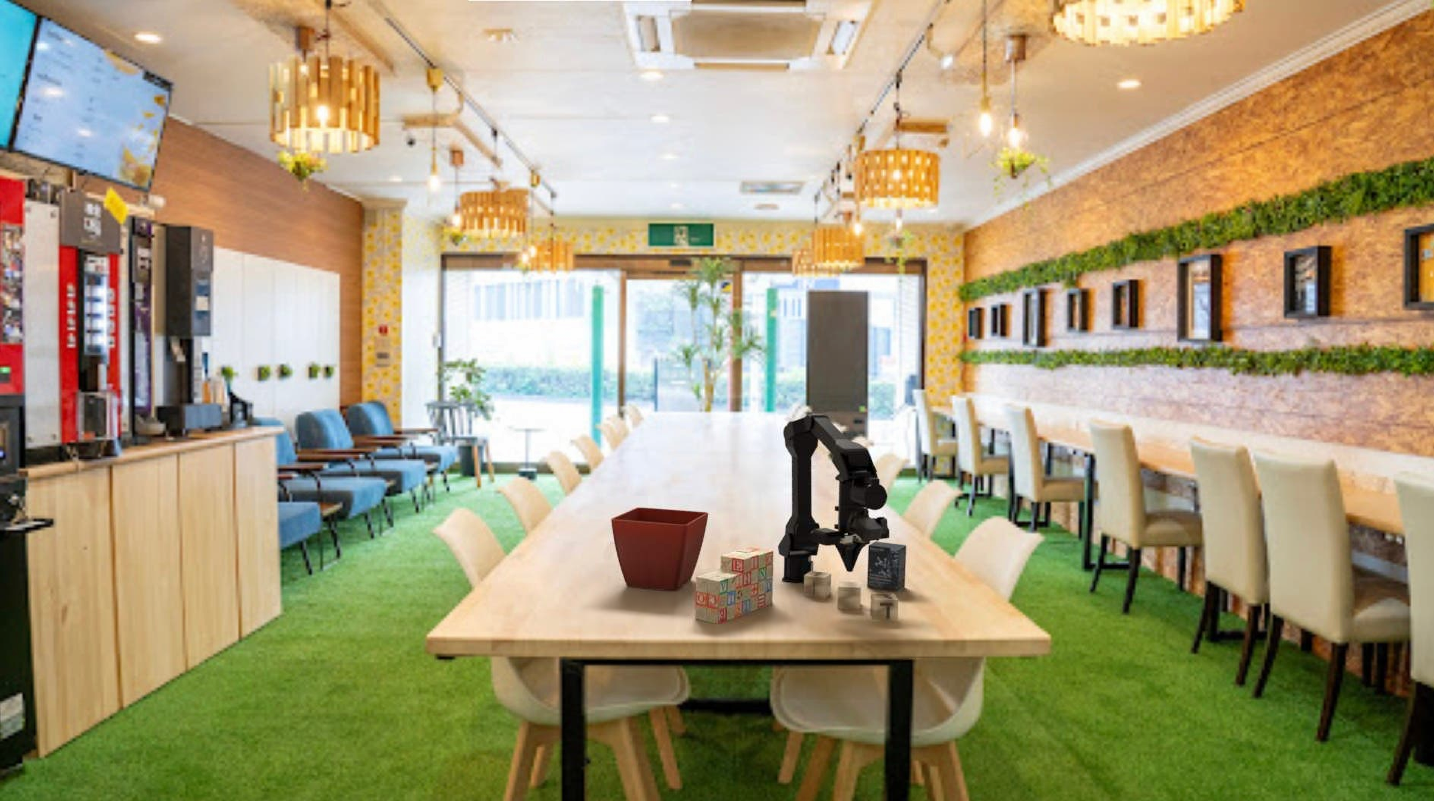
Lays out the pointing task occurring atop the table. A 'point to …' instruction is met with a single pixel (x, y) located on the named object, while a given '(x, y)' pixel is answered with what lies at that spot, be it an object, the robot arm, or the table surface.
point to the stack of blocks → (735, 586)
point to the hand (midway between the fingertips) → (849, 571)
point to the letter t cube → (884, 607)
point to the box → (886, 566)
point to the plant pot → (658, 546)
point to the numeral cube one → (817, 584)
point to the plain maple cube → (849, 595)
